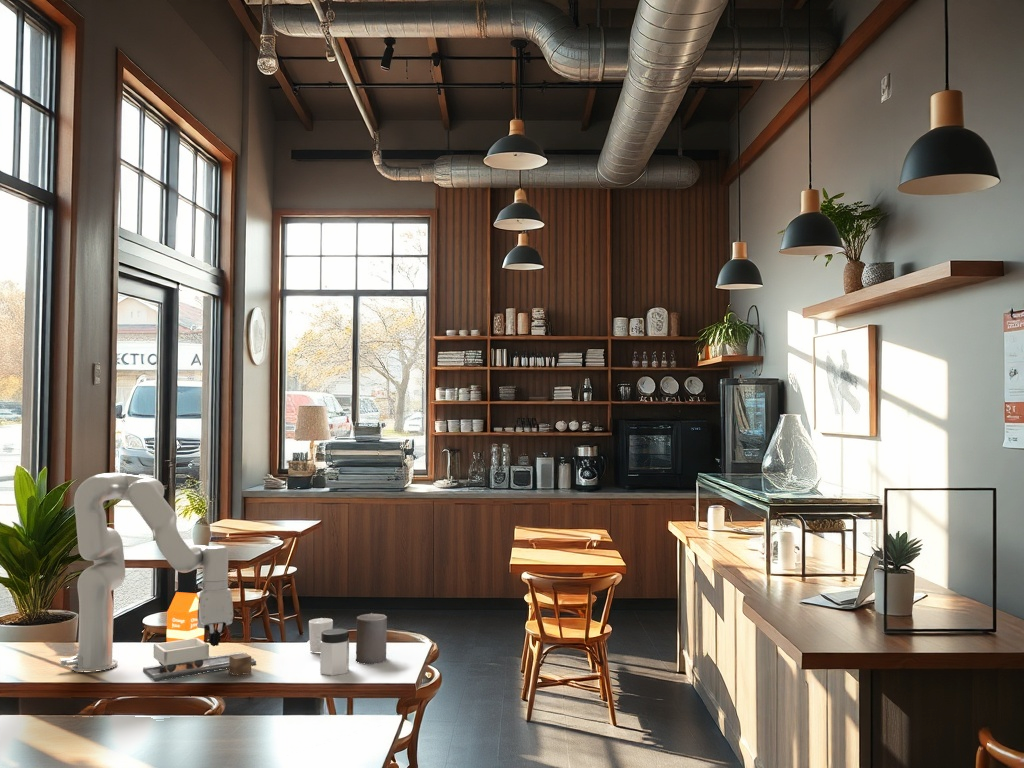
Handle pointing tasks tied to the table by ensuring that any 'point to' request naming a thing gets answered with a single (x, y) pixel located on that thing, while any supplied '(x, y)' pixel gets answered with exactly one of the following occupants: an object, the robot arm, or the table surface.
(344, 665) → the jar
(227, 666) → the track
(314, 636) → the white cup
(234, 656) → the walnut block
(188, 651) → the cart
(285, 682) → the table surface
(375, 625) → the pillar candle
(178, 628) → the orange juice
